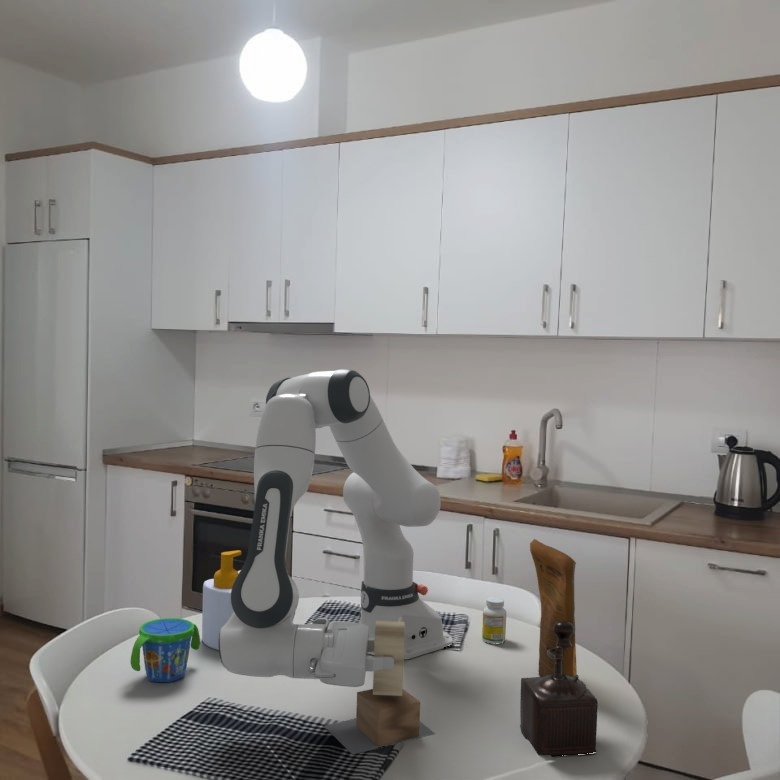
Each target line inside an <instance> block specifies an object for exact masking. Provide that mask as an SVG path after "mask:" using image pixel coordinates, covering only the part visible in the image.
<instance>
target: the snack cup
mask: <svg viewBox="0 0 780 780" xmlns="http://www.w3.org/2000/svg"><path fill="white" fill-rule="evenodd" d="M138 632H139V635H138V636H137V638H136V640H135V642H134V644H133V647H132V649H131V651H132V652H131V654H130V666H131V668H132V670H134V671H135V672H140V671H141V664H140V663H141V662H140V661H141V659H140V658H141V657H140V656H141V648H142V654H143V662H144V669H145V675H146V677H147V679H149V681H150V682H156V683H171V682H175V681H176V680H179V679H181V678H184V677H185V674H186V671H187V669H188V667H187V665H188V660H189V655H190V650H194V651H197V650H199V649H200V646H201V636H200V631H199V628H198V626H197V625H196V624H195V623H193V622H192V621H190V620H187V619H185V618H176V617H174V618H173V617H169V618H167V617H166V618H158V619H152V620H148V621H146V622H145V623H142V624H141V626H140V627H139V630H138Z"/></svg>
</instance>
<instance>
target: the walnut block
mask: <svg viewBox="0 0 780 780" xmlns="http://www.w3.org/2000/svg"><path fill="white" fill-rule="evenodd" d="M355 712H356V713H355V714H356V717H355V719H356V726H357V727H358V728H359V729H360V730H361V731H362V732H363V733H364V734H365V735H366V736H367V737H369V738H370V739H371V740H372V741H373V742H374V743H375V744H376V745H377V746H381V745H385V744H389V743H393V742H397V741H401V740H405V739H409V738H413V737H417V736H419V723H420V722H421V721H420V719H421V717H420V715H421V701H420V700H419V699H417V698H416V697H415V696H413V695H412V694H411V693H409V691H407V690H405V689H404V688H403V689H402V696H394V695H373V688H371V689H366V690H362V691H357V692H356V711H355Z"/></svg>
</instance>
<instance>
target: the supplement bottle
mask: <svg viewBox="0 0 780 780" xmlns="http://www.w3.org/2000/svg"><path fill="white" fill-rule="evenodd" d="M504 604H505V600H504V599H503V598H501V597H496V596H495V597H494V596H493V597H491V596H490V597H487V598H486V606H485V607H484V608H483V612H482V631H481V635H482V636H481V639H482V642H484V641H485V642H484V643H486V642H487V643H486V644H489V643H495V644H494V645H497V644H496V643H502V642H504V641H505V642H506V633H507V629H506V627H507V610H506V609H505V608H504V606H505V605H504ZM505 642H504V643H505ZM502 644H503V643H502Z"/></svg>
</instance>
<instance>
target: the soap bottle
mask: <svg viewBox="0 0 780 780" xmlns="http://www.w3.org/2000/svg"><path fill="white" fill-rule="evenodd" d="M241 555H242V551H241V550H240V549H239V550H231V551H223V552H221V553H220V569H219V570H217V571H215V573H214V575H213V578H210V579H207V580H204V582H203V585H202V618H201V619H202V622H201V623H202V625H201V640H202V642H203V643H204V645H206V646H207V647H209V648H210V649H213V650H216V651H219V646H218V641H219V633H220V630H221V628H222V627H223V626H224V625H225V624H226V623H227V621H228V620H229V619H230V617H231V616H232V614H233V612H234V610H233V608H232V604H231V590H232V587H233V584H234V582H235V580H236V578H237V576H238V574H239V573H238V571H239V570H236V569H235V568H234V558H235V557H238V556H241Z"/></svg>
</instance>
